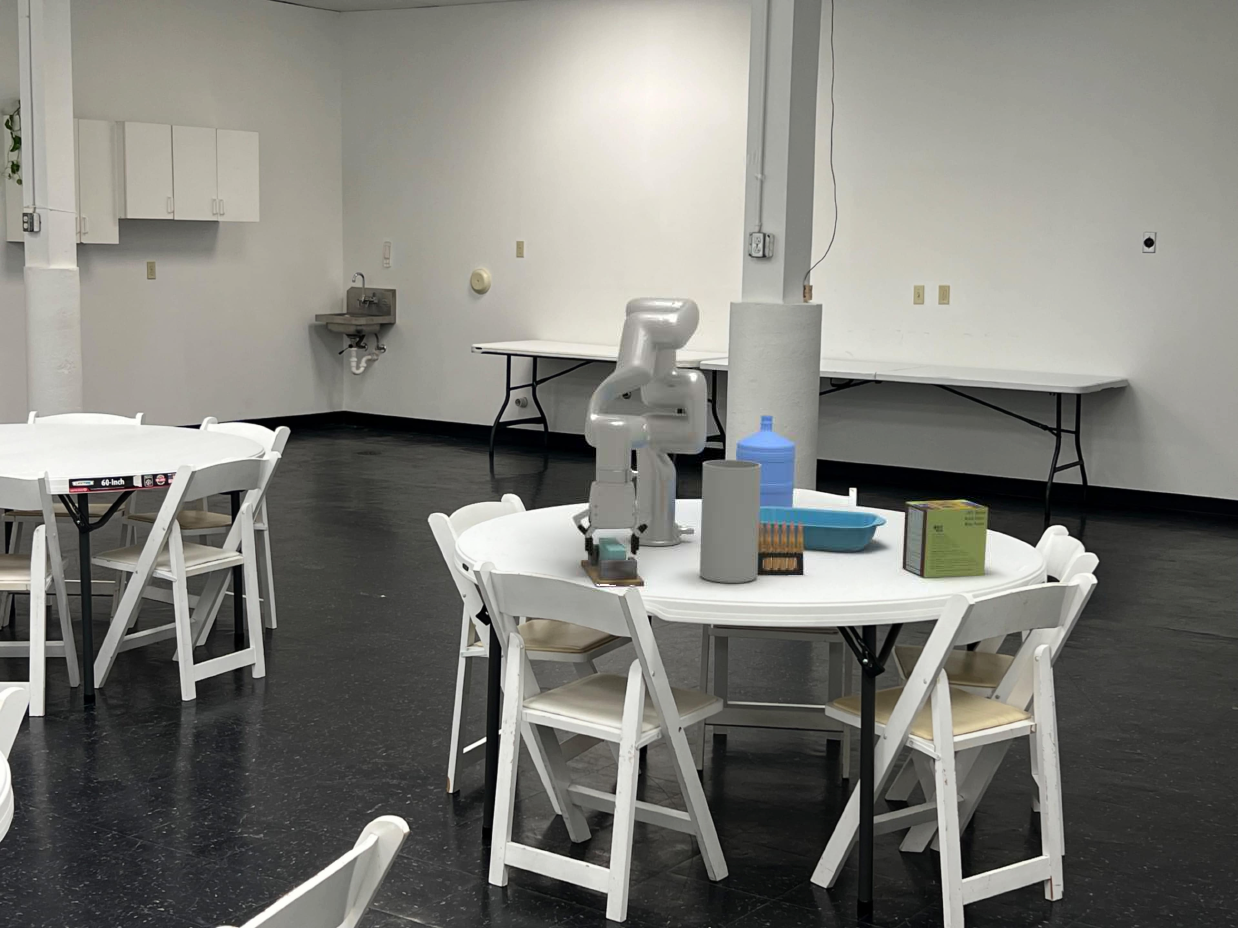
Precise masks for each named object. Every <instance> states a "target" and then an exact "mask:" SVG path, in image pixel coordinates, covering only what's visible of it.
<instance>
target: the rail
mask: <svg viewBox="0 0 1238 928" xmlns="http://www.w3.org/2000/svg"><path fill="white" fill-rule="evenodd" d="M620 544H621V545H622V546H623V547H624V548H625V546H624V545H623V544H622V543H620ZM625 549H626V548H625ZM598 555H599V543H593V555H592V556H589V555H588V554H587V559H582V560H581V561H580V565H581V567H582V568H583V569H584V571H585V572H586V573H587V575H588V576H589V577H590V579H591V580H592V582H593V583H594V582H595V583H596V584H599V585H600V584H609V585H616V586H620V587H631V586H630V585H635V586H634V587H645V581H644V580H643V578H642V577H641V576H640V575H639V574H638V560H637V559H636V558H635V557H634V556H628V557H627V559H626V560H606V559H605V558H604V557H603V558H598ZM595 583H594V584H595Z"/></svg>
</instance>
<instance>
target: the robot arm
mask: <svg viewBox="0 0 1238 928" xmlns="http://www.w3.org/2000/svg"><path fill="white" fill-rule="evenodd" d="M699 323H700V310H699V306H698V304H697V303H696V301H694V300H693V299H691V298H677V297H676V298H674V297H673V298H671V297H636V298H633V299H631V300H629V301H627V303H626V306H625V320H624V323H623V328H622V332H621V337H620V342H619V343H620V344H619V348H618V354H617V359H616V360H617V361H616V366H615V370H614V371H613V372H612V373H611V374H610V375H609V376H607V378H606V379H604V380H603V381H602V382H601V383H600V384H599V385H598V386H597V388H596V390H595V391H594V392H593V394H592V396H591V398H590V400H589V403H588V408H587V413H586V419H585V424H584V425H585V426H584V436H585V440H586V442H587V444H588V445H590V446H592V447H594V448H596V451H595V452H596V456H595V457H596V458H595V460H596V461H595V462H596V463H595V480H594V481H592V483H591V485H590V486H591V487H590V490H589V491H590V492H589V499H588V508H586V509H584V510H582V511H581V512H579V513H577V514H575V515H574V516H572V520H573V523H574V524H575V526H576V528H577V529H578V531H579V532H580V533H582V535H584V551H585V552H586V553H587V556H588V555H589V556H592V555H593V544H594V538H593V536H592V535H593V534H594V532H595V531H596V530H626V529H627V530H628V529H629V530H630V531H631V532H632V534H630V535H629V537H628V539H629V540H628V541H629V542H630V553H631V554H632V555H634V556H637V554H638V553H637V551H640V545H641V546H649V547H665V546H668V547H669V546H674V545H678V544H680V543H681V542H682V539H681V538H682V537H681V536H682V535H694V533H695V528H694V526H693V525H692V526H687V525H678V523H676V497H677V496H676V489H677V488H676V487H677V471H676V466H675V465H674V463H673V461H672V460H671V458H670V457H669V456H668V454H680V455H681V454H684V455H685V454H686V455H697V454H699V453H701V452H703V450H704V449H705V446H706V442H707V429H708V428H707V426H708V423H707V422H708V387H707V380H706V377H705V375H704V374H703V373H702V371H700V370H698V369H697V370H696V369H689V368H678V367H677V350H681V349H682V348H684V347H685V346H686V345H687V343H689V341H690V339H691V338H692V337H693V335H694V334H695V333H696V330H697V329H698V326H699ZM636 389H640V396H641V397H640V398H641V400H642V403H644V405H646V406H649V407H651V408H661V409H663V408H664V409H678V410H679V409H681V410H682V409H683V410H684V411H685V413H673V412H672V413H670V412H647V413H643V414H642V415H640V416H639V415H631V414H630V415H628V414H627V415H626V414H613V413H610V414H609V413H604V411H605V410H606V408H607V406H609V404H610V403H611V402H612V401H614V400H615V399H616V398H618V397H620V396H622V395H625V394H626V393H629V392H632V391H634V390H636ZM633 450H635V451H636V470H633V469H632V451H633ZM633 478H636V489H635V485H634V482H633V481H632V479H633ZM635 490H636V491H635ZM586 518H587V519H588V521H587V522H588V524H589V525H588V526H587V527H585V526H584V525H583V523H582V520H584V519H586ZM595 533H596V532H595Z"/></svg>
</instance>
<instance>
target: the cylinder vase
mask: <svg viewBox="0 0 1238 928" xmlns="http://www.w3.org/2000/svg"><path fill="white" fill-rule="evenodd" d="M760 485H761V464H759V463H756V462H750V461H741V460H736V459H716V460H714V459H713V460H707V461H704V462H702V489H701V520H700V522H701V523H700V554H699V555H700V557H699V559H700V560H699V575H700V576H701V578H702V579H704V580H706V581H710V582H713V583H720V584H721V583H722V584H744V583H749V581H750V582H752V581H754V580H756V579H757V578H758V575H757V573H758V543H759V514H760Z"/></svg>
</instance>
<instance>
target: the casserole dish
mask: <svg viewBox="0 0 1238 928" xmlns="http://www.w3.org/2000/svg"><path fill="white" fill-rule="evenodd" d="M886 520H887V519H885V518H883V517H882V516H881V517H880V516H879V514H876V513H870V512H864V511H863V512H862V511H850V510H849V511H848V510H834V509H820V508H804V507H794V506H793V507H774V506H765V507H760V514H759V523H760V521H762V524H763V538H764V540H765V534H766V526H767V523H768V521H769V522H770V525H771V539H772V540H773V534H774V525H775V522H776V521H777V522H778V526H779V540H780V539H781V531H782V525H783V522H784V521H785V523H786V527H787V549H788V539H789V531H790V525H791V522H792V521H793V522H794V527H795V549H796V539H797V532H798V525H799V522H800V521H801V522H802V527H803V550H812V551H814V550H815V551H827V552H828V551H829V552H845V553H847V552H850V553H851V552H853V553H854V552H858V551H861V550H863V549H864V548H865V547H866V546H867V545H868V544H870V542H871V541H872V540H873V538H874V536H875V533H876V531H877V527H880V526H884V525H885V524H886V523H887V521H886ZM779 548H780V545H779Z"/></svg>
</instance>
